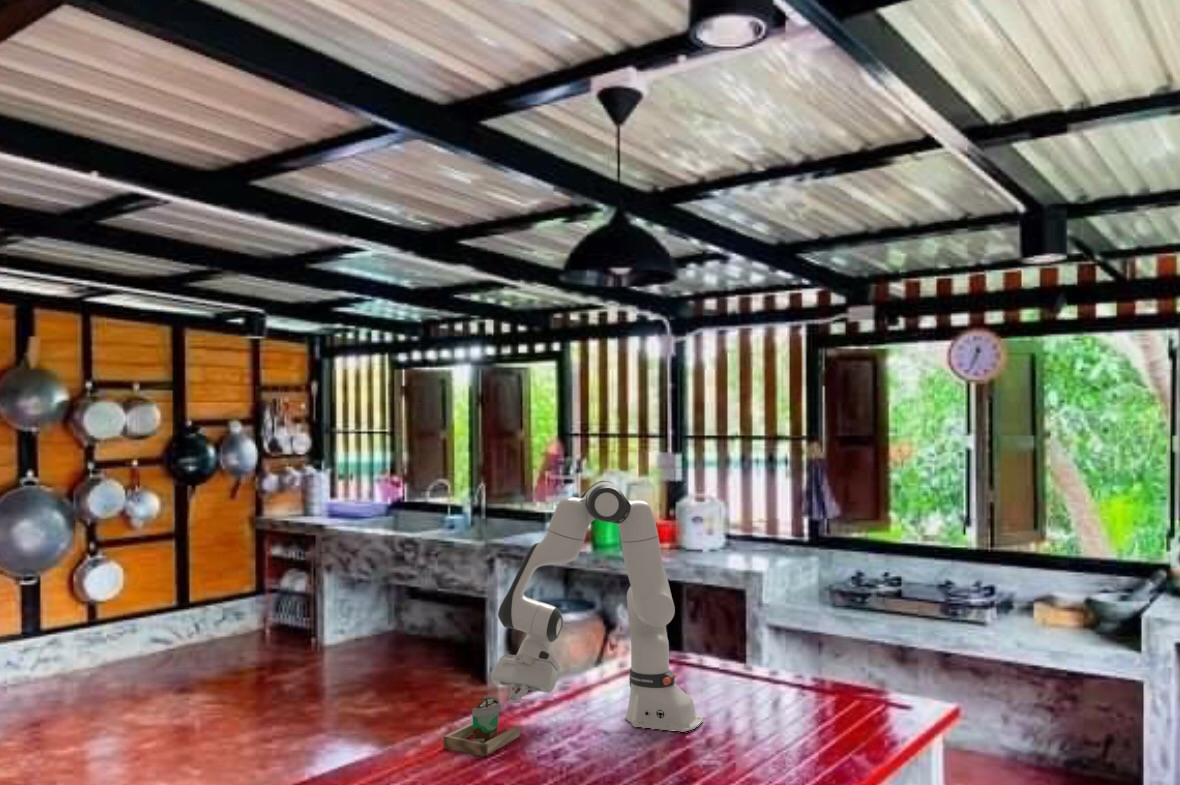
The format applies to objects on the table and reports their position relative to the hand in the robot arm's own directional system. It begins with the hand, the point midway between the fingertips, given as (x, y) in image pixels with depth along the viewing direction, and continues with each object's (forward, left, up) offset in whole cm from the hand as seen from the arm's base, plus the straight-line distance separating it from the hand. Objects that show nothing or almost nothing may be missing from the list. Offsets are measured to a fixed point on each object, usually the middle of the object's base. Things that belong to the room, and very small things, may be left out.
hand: (513, 700), depth 258 cm
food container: (0, +11, -8) cm, 14 cm away
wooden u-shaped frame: (0, +14, -7) cm, 16 cm away
